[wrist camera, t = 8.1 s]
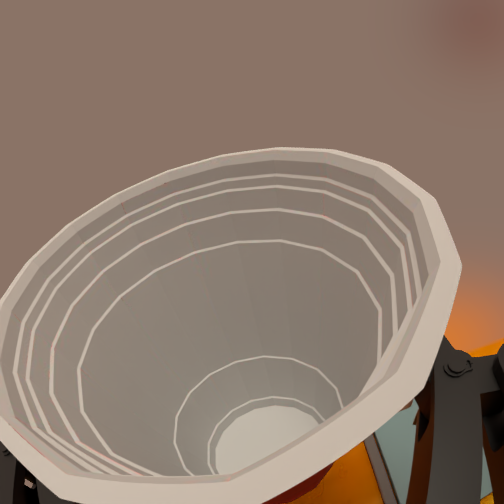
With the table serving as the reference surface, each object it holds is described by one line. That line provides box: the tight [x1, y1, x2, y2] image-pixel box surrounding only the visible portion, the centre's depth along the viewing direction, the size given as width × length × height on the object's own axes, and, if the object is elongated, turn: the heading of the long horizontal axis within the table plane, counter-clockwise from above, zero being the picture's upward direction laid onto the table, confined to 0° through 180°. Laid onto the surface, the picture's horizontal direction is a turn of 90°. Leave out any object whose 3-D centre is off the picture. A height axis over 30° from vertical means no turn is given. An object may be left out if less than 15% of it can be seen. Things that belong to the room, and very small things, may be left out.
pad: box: [373, 399, 492, 504], centre depth 17 cm, size 13×12×1 cm
